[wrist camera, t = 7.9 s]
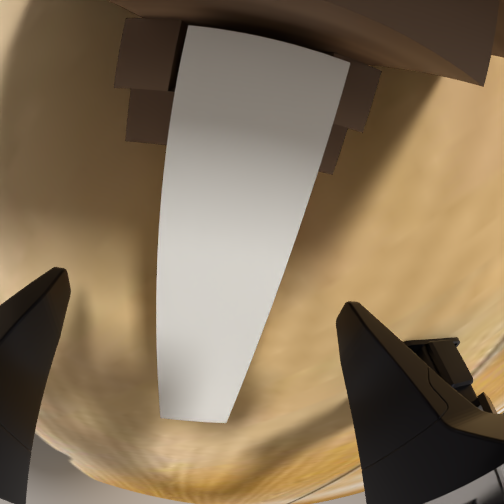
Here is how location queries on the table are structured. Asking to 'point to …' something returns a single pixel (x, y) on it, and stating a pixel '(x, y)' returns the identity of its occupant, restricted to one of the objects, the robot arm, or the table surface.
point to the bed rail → (233, 205)
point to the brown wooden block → (312, 37)
